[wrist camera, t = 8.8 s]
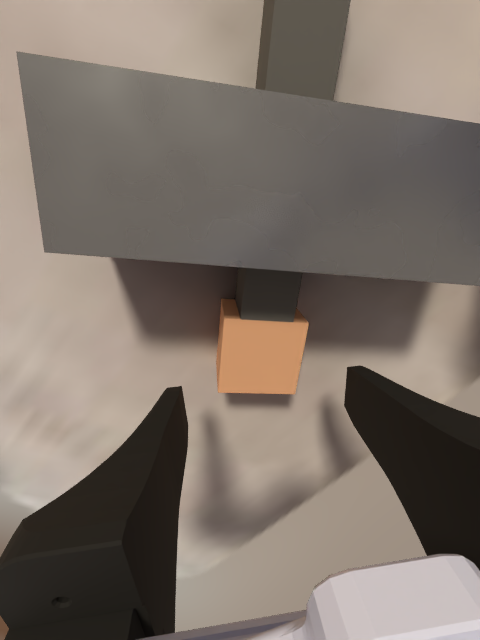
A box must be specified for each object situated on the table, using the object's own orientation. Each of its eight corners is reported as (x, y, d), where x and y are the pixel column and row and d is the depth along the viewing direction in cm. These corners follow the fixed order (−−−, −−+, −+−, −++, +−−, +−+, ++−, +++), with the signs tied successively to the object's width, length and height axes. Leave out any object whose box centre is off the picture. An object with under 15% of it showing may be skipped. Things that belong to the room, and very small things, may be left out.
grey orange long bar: (356, -71, 11) (404, -157, 9) (281, 364, 18) (294, 394, 16) (252, -95, 11) (268, -196, 8) (216, 362, 18) (218, 392, 15)
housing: (437, 158, 15) (559, 136, 10) (406, 260, 16) (495, 287, 11) (93, 111, 13) (16, 51, 8) (101, 233, 14) (44, 252, 9)
